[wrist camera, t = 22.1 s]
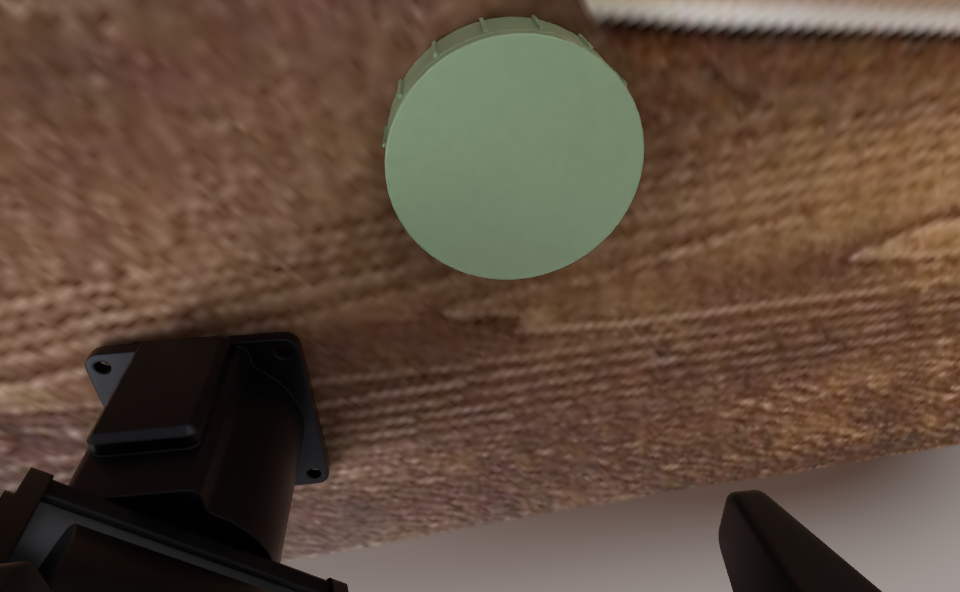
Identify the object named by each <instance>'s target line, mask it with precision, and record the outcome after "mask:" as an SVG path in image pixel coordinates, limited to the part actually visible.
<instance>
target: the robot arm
mask: <svg viewBox="0 0 960 592" xmlns="http://www.w3.org/2000/svg"><path fill="white" fill-rule="evenodd" d="M279 346H286V347H288V348H290V350H288V351H282V350H281V349H279V348H278V347H279ZM100 361H103V362H106V363H108V364H109V365H110V366H106V365H104V364H102V363H101V362H100ZM85 367H86V370H87V372H88V374H89V376H90V379H91V381H92V383H93V385H94V387H95V389H96V391H97V393H98V396H99V398H100V400H101V402H102V404H103V406H104V409H103V411H102V412H101V414H100V416H99V418H98V420H97V421H96V423H95V425H94V427H93V429H92V430H91V432H90V434H89V436H88V438H87V443H88V445H89V447H88V449H87V451H86V453H85V455H84V457H83V458H82V460H81V462H80V464H79V466H78V468H77V469H76V471H75V473H74V475H73V477H72V479H71V481H70V482H69V484H68V485H66V484H63V483H60V482H58V481H55V480H52V479H53V477H54V475H51V474H48V473H46V472H43V471H40V470H37V469H35V468H32V467H31V468H30V470H29V471H28V473H27V475H26V476H25V478H24V479H23V481H22V482H21V484H20V486H19V487H18V489H17V490H16V492H15V493H12V492H9V491H7V490H5V491H4V493H3V494H2V496H1V497H0V592H348V587H347V584H345V583H343V582H340V581H337V580H335V579H332V578H328V579H327V580H324V579H321V578H319V577H316V576H313V575H310V574H308V573H305V572H302V571H300V570H297V569H294V568H291V567H289V566H286V565H283V564H281V563H280V560H281V555H282V549H283V544H284V539H285V533H286V528H287V522H288V517H289V512H290V506H291V501H292V495H293V490H294V485H303V484H314V483H320V482H323V481H324V480H326V479H327V477H328V475H329V467H330V463H329V459H328V455H327V451H326V446H325V442H324V438H323V434H322V430H321V425H320V421H319V417H318V413H317V408H316V404H315V400H314V396H313V392H312V387H311V383H310V379H309V375H308V371H307V366H306V362H305V358H304V354H303V350H302V345H301V342H300V340H299V338H297V337H296V336H295V335H294V334H291V333H289V332H274V333H262V334H250V335H238V336H226V337H224V336H211V337H198V338H186V339H174V340H162V341H150V342H143V343H141V344H130V345H118V346H106V347H99V348H96V349H95V350H93V351H92V352H91V354H90V355H89V357H88V358H87V360H86V363H85ZM313 469H318V470H313ZM719 544H720V549H721V553H722V556H723V559H724V562H725V566H726V569H727V573H728V576H729V579H730V582H731V586H732V589H733V592H881V591H880V590H879V589H878V588H877V587H876V586H875V585H873V584H872V583H871V582H870V581H869V580H867V579H866V578H865V577H864V576H863V575H861V574H860V573H859V572H858V571H857V570H855V569H854V568H853V567H852V566H851V565H849V564H848V563H847V562H846V561H845V560H844V559H842V558H841V557H840V556H839V555H838V554H836V553H835V552H834V551H833V550H832V549H831V548H829V547H828V546H827V545H826V544H825V543H823V542H822V541H821V540H820V539H819V538H817V537H816V536H815V535H814V534H813V533H811V532H810V531H809V530H808V529H807V528H806V527H804V526H803V525H802V524H801V523H800V522H798V521H797V520H796V519H795V518H793V517H792V516H791V515H790V514H789V513H788V512H787V511H785V510H784V509H783V508H782V507H781V506H779V505H778V504H777V503H776V502H775V501H773V500H772V499H771V498H770V497H769V496H767V495H766V494H765V493H763V492H761V491H758V490H750V491H739V492H732V493H731V494H729V495H728V497H727V499H726V503H725V507H724V511H723V515H722V519H721V524H720V528H719Z"/></svg>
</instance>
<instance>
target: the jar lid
mask: <svg viewBox="0 0 960 592" xmlns="http://www.w3.org/2000/svg"><path fill="white" fill-rule="evenodd" d="M431 45H432V46H431V47H430V48H429V49H428V50H427V51H426V52H425V53H424V54H423V55H422V56H421V57H420V58H419V59H418V60H417V61H416V62H415V63H414V65H413V66H412V67H411V69H410V70H409V71H408V73H407V74H406V75H405V77H404V79H403V80H401V79H399V81H398V90H397V93H396V95H395V98H394V100H393V103H392V106H391V110H390V115H389V119H388V126H384V134H383V144H382V147H386V149H385V160H384V161H385V179H386V184H387V192H388V195H389V197H390V200H391V203H392V206H393V208H394V210H395V212H396V214H397V216H398V219H399V221H400V222H401V224H402V225H403V227H404V228H405V230H406V231H407V232H408V234H409V235H410V236H411V237H412V238H413V240H414V241H415V242H416V243H417V244H418V245H419V246H420V247H421V248H422V249H424V250H425V251H426V252H427V253H428V254H429V255H431V256H432V257H434V258H435V259H437V260H438V261H440V262H441V263H443V264H445V265H447V266H449V267H451V268H453V269H455V270H458V271H461V272H463V273H466V274H469V275H473V276H477V277H482V278H488V279H498V280H516V279H525V278H532V277H536V276H540V275H544V274H548V273H550V272H553V271H556V270H559V269H561V268H563V267H566V266H568V265H570V264H572V263H574V262H575V261H577V260H579V259H580V258H582V257H583V256H585V255H587V254H588V253H589V252H591V251H592V250H593V249H594V248H596V247H597V246H598V245H599V244H601V243H602V242H603V241H604V240H605V239H606V238H607V237H608V236H609V235H610V234H611V232H612V231H613V230H614V229H615V227H616V226H617V225H618V224H619V222H620V221H621V220H622V218H623V216H624V215H625V213H626V212H627V210H628V208H629V207H630V204H631V202H632V200H633V198H634V196H635V194H636V191H637V188H638V184H639V181H640V178H641V173H642V168H643V162H644V137H643V128H642V124H641V120H640V116H639V112H638V110H637V107H636V105H635V102H634V100H633V98H632V96H631V94H630V92H629V91H628V89H627V87H626V86H627V83H626V82H625V81H624V80H623V78H622V77H621V76H620V75H619V74H618V73H617V72H616V71H615V70H614V69H613V68H611V67H610V66H609V65H608V64H607V63H606V62H605V61H604V59H603V58H602V57H601V56H600V55H599V54H598V53H597V52H596V51H595V50H594V49H593V46H592V45H591V44H590V43H589V42H588V41H587V40H586V39H585V38H584V36H583V35H581V34H580V33H579V34H578V36H576V35H575V34H574V33H572V32H570V31H568V30H566V29H564V28H562V27H560V26H558V25H555V24H552V23H549V22H546V21H543V20H538V18H537V17H536V16H535V15H531V18H526V17H500V18H491V19H487V20H484V19H483V17H481V18H479V22H475V23H472V24H469V25H467V26H464V27H462V28H460V29H457V30H455V31H454V32H452V33H450V34H448V35H447V36H445V37H443V38H442V39H440V40H439V41H438V42H436V41H435V40H434V41H432V42H431Z"/></svg>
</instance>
